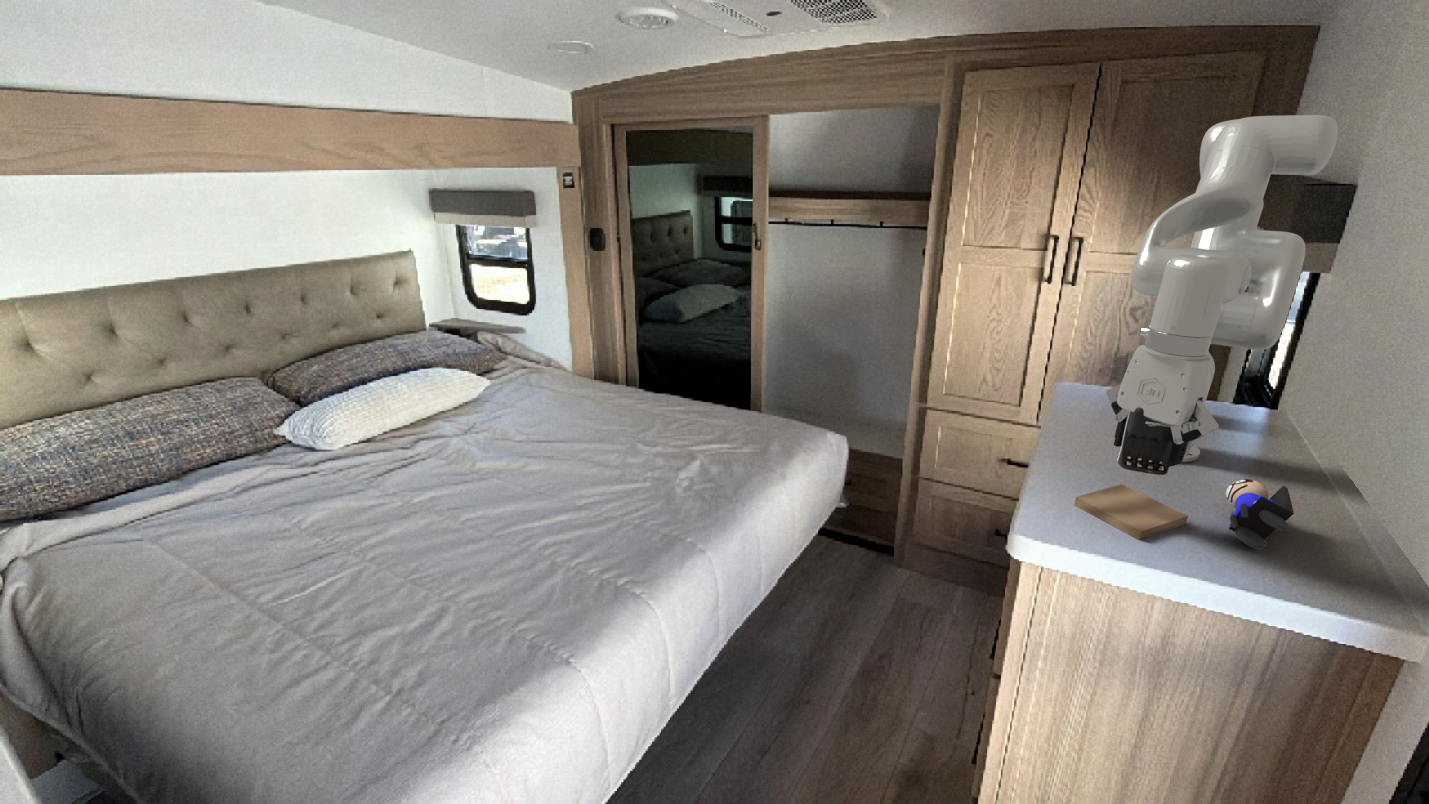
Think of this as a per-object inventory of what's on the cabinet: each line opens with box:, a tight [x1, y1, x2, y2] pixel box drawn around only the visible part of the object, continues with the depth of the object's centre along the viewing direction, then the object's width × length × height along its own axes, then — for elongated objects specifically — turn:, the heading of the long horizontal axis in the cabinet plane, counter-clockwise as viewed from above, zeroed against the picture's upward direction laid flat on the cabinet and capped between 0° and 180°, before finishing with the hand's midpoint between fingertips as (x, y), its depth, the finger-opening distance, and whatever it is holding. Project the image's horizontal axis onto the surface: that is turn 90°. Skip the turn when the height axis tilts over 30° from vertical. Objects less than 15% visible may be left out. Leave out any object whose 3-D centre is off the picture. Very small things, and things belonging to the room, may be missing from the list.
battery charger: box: [1116, 407, 1183, 476], centre depth 97 cm, size 7×4×11 cm, turn 67°
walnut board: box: [1073, 484, 1189, 541], centre depth 102 cm, size 11×11×2 cm
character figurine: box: [1225, 478, 1295, 550], centre depth 96 cm, size 8×7×15 cm
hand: (1145, 453), depth 98 cm, fingers closed on battery charger, 7 cm apart
